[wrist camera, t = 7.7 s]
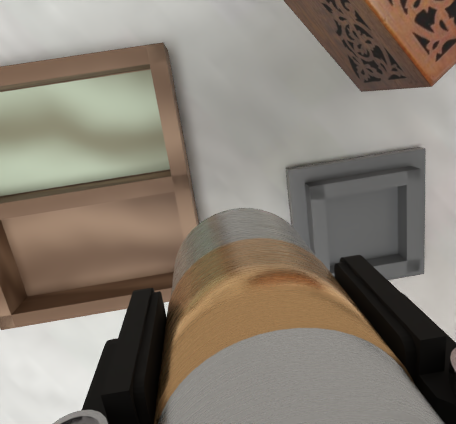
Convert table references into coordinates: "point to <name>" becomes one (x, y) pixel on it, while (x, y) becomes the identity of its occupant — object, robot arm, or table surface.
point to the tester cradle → (363, 210)
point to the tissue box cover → (384, 39)
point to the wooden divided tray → (90, 184)
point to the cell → (272, 336)
